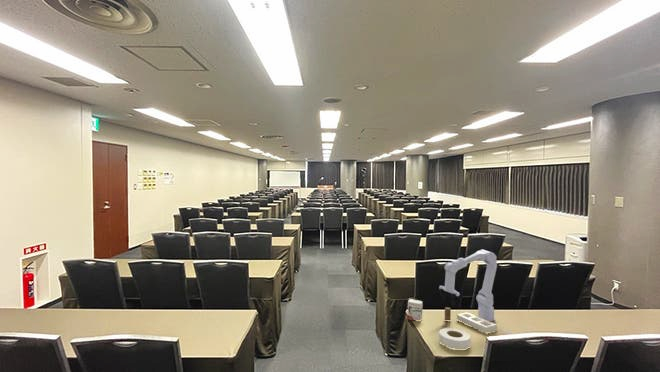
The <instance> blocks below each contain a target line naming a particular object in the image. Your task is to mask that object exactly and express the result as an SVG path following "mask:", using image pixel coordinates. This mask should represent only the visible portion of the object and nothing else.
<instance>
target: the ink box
mask: <svg viewBox="0 0 660 372" xmlns="http://www.w3.org/2000/svg"><path fill="white" fill-rule="evenodd" d="M423 306H424V304H423V301H422V300H418V299H412V298H410V299H408V301H407V320H409V321H413V320H421V319H422V320H423Z"/></svg>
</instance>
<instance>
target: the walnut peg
mask: <svg viewBox="0 0 660 372" xmlns="http://www.w3.org/2000/svg"><path fill="white" fill-rule="evenodd" d="M451 310H452V309H451V307H444V321H445V320H451V319H452V318H451Z"/></svg>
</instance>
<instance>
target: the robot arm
mask: <svg viewBox="0 0 660 372" xmlns="http://www.w3.org/2000/svg"><path fill="white" fill-rule="evenodd" d="M497 258H498V257H497V255H496V254H495V253H494V252H492V251H488V250H485V249H483V248H482V249H479V250H477V251H476V252H474V253H472V254H471V255H469V256H467V257H465V258H464V257H459V258H457V259H455V260H451V262H446V263H445V265H444V266H443V267H444V271H445V274H444V275H445V279H444V285H439V287H438V289H439V290H438V292H439V293H440V298H441V302H442V303H445V302H446V299H447V295H448V294H447V293H449V294H450V298H451V300H450V301H451V303H450V304H451V305H450V307H455V306H456V303H457V301H458V299H459V297H460V292H458V291H457V290H456V289H455V283H456V282H455V281H456V273H457V272H458V271H459V270H461V269H463V268H465V267H467V265H468V264H470V263H473V262H475V261H483V262H484V263H485V265H486V269H485V273H484V279H483V282H482V287H481V289H480V290H479V291H478V294H477V295H476V297H475V298H476V302H477V304H478V308H477V309H478V310H477V311H478V314H477V317H480V318H482V319H484V320H487V321H489V322H491V323H492V322H493V321H496V319H495V308H494V306H493V305H494V295H493V293H492V290H493V285H494V281H495V277H496V272H497V268H498V263H497Z"/></svg>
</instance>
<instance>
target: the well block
mask: <svg viewBox="0 0 660 372" xmlns="http://www.w3.org/2000/svg"><path fill="white" fill-rule="evenodd" d="M457 319H458V320H460V321H462V322H464V323H466V324H468V325H470V326H472V327H473V328H476V329H478V330H480V331H483V332H486V333H487V332H493V331H496V332H497V329H498V328H497V327H498V326H497V324H496V323H494V322H492V321H491V322H489V321H487V320H484V319H482V318H480V317H478V315H475V314H472V313H470V312H463V313H459V314H458V313H457V314H456V320H457ZM473 328H472V329H473ZM478 330H477V331H478ZM480 331H479V332H480ZM493 333H494V332H493Z"/></svg>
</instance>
